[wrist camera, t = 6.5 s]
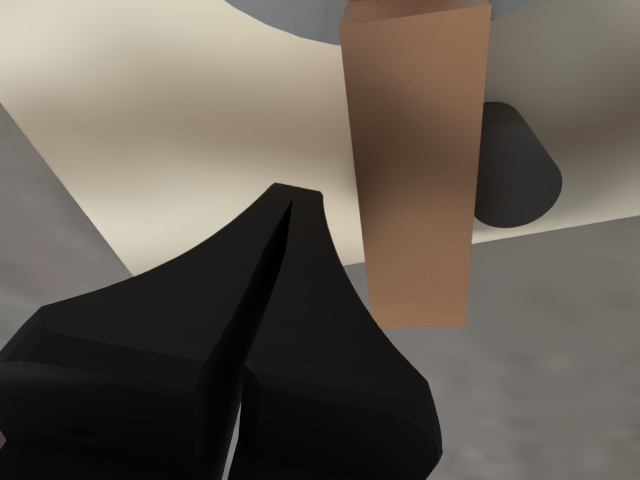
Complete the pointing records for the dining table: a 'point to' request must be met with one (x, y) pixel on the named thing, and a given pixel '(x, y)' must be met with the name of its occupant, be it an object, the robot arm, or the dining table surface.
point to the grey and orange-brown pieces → (408, 138)
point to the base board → (305, 117)
